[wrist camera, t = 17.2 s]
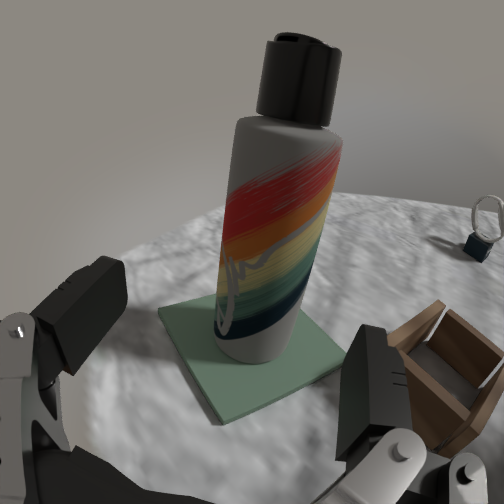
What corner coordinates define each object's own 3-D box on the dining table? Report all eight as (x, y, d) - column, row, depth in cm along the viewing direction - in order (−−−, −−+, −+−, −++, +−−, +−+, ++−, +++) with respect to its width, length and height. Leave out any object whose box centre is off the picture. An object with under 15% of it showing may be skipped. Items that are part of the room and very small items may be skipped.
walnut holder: (419, 331, 26) (438, 299, 24) (490, 392, 20) (516, 362, 18) (356, 377, 21) (377, 341, 19) (444, 462, 14) (479, 434, 12)
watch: (490, 268, 41) (515, 210, 36) (454, 245, 47) (476, 188, 41) (495, 261, 44) (518, 208, 39) (463, 240, 50) (483, 187, 44)
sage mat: (269, 284, 30) (270, 279, 30) (348, 362, 23) (350, 357, 22) (158, 313, 24) (158, 308, 24) (223, 425, 17) (223, 421, 17)
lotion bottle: (197, 330, 23) (226, 27, 13) (250, 302, 26) (294, 47, 16) (251, 379, 20) (323, 26, 9) (302, 340, 23) (378, 58, 13)
